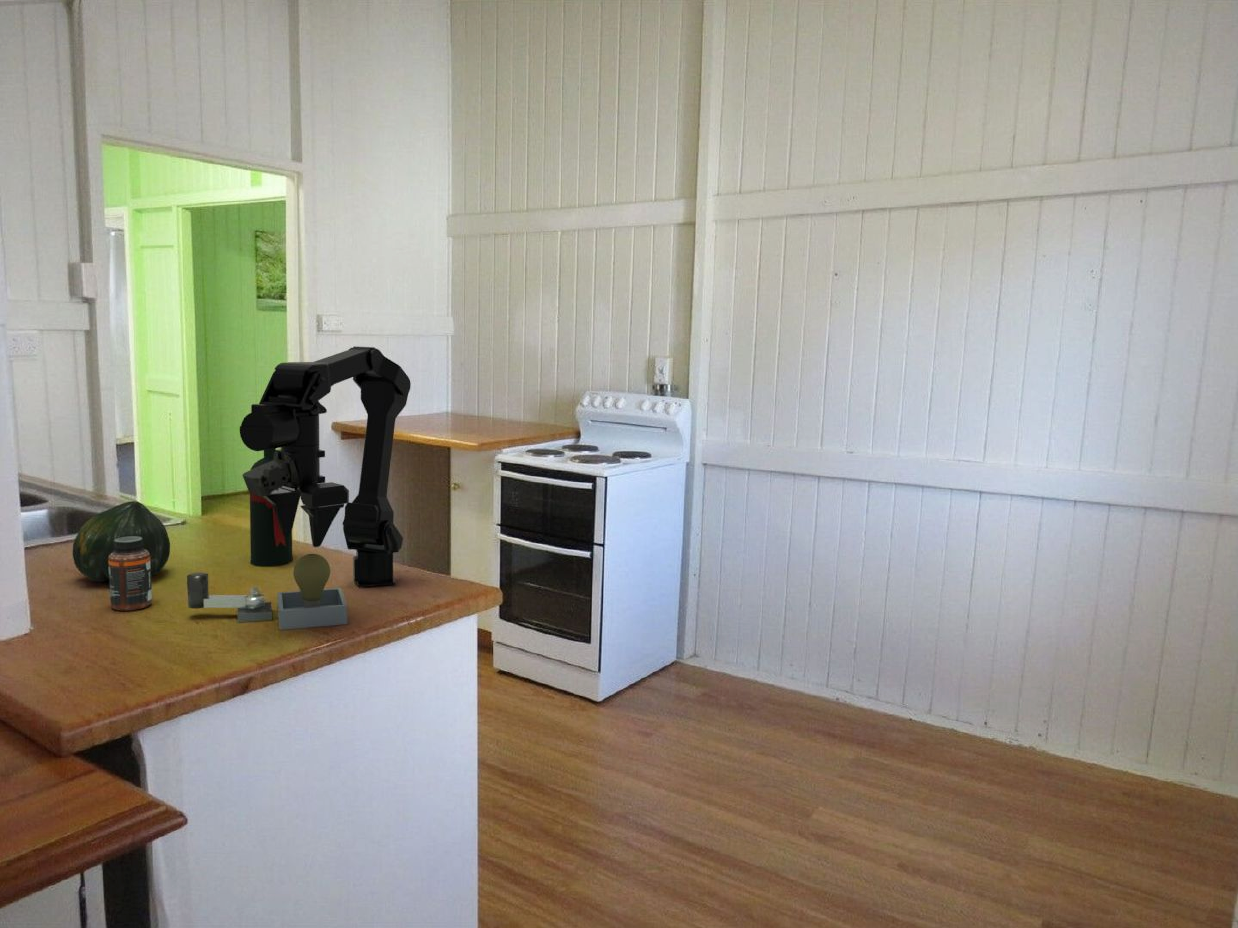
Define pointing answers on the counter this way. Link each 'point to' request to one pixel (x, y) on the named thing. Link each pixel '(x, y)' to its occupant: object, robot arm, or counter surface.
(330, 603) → the tray
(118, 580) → the supplement bottle
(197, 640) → the counter surface
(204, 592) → the crank
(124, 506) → the squash
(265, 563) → the wine bottle
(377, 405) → the robot arm
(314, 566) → the light bulb
